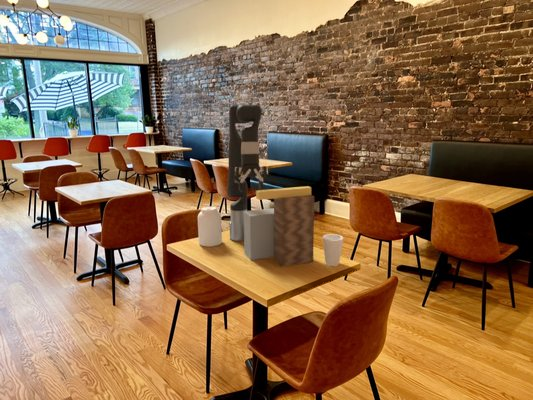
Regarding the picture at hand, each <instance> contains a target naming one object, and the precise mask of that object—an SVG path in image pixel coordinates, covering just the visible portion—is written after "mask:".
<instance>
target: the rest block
mask: <svg viewBox="0 0 533 400" xmlns="http://www.w3.org/2000/svg"><path fill="white" fill-rule="evenodd" d="M243 244H244V245H243V246H244V248H243V249H244V254H245V256H246V257H247V258H248V259H249V260H250V261H256V260H260V259H269V258H274V207H273V208H264V209H254V210H247V211H244V243H243Z"/></svg>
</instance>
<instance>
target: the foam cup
mask: <svg viewBox="0 0 533 400" xmlns="http://www.w3.org/2000/svg"><path fill="white" fill-rule="evenodd" d="M322 244H323V245H322V246H323V253H324V263H325V265H327V266H329V267H337V266H339V264H340V260H341V255H342V250H343V249H342V248H343V244H344V237H343V236H342V235H340V234H336V233H329V234H328V233H327V234H324V235H322Z"/></svg>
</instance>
